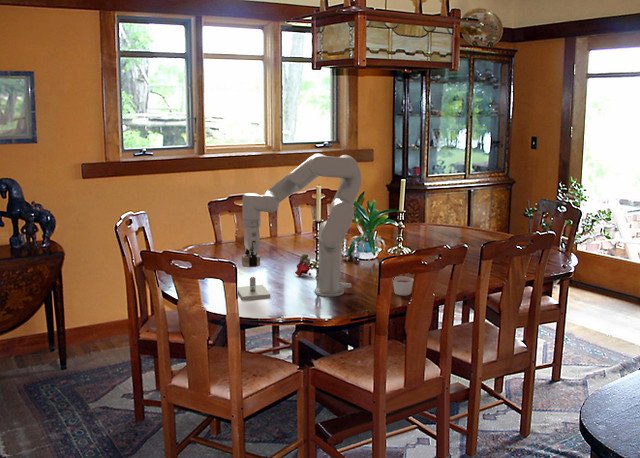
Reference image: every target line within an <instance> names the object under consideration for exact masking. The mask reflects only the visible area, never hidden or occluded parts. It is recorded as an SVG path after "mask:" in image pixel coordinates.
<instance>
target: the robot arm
mask: <svg viewBox="0 0 640 458" xmlns="http://www.w3.org/2000/svg"><path fill="white" fill-rule="evenodd" d="M319 177H324V178H337V179H340V183H339V186H338V189H337V191H336V192H335V194H334V197H333V199H332V200H331V204H330V205H329V215H328V218H327V220H325V221H323V222H322V223H321V224H320V226H319V228H318V232H317V235H318V237H317V238H318V287H316V288H315V289H314V293H315V294H316V295H317V296H320V297H329V298H331V297H332V298H333V297H340V296H342V295H344V293H345V288H347V289H348V288H350V289H351V288H352V283H351V282H349V283H347V282H342V280H341V278H342V276H341V274H342V271H341V270H342V269H341V267H342V265H341V264H342V263H341V262H342V243H343V241H344V239H345V238H346V235H347V234H348V231H349V229H350V226H351V224H352V221H353V220H354V215H355V210H354V204H355V201H356V200H357V197H358V195H359V192H360V189H361V185H362V173H361V170H360V167H359V164H358V162H357V160H356V159H355V158H354V157H352V156H351V155H348V154H342V155H340V156H332V155H331V156H327V155H325V154H322V153H321V152H320V153H319V152H318V153H313V155H311V156H310V157H308V158H307V159H305V161H303V162H302V163H300V165H299V166H297V167H295V168H294V169H293V170H292V171H290V172H289V173H287V175H285V176H284V177H283V178H281V179H280V180H279V181H277V182H276V183H275V184H273V185H272V186H271V187H270V188H269V189H267V190H266V191H265V192H264V193H263V194H261V195H260V194H259V193H255V192H247V193H244V194H242V209H241V210H242V215H241V216H242V225H241V227H243V229H244V231H243V232H244V234H243V235H244V236H243V242H244V243H243V244H244V247H245V250H244V251H245V253H244V255H245V254H250V257H249V266H257V255H258V251H260V250H261V243H260V240H261V239H260V237H261V236H260V227H261V212H263V213H274V212H277V210H278V209H279V206H280V204H281V202H282V201H284V200H285V199H286V198H288V197H289V196H290V195H292V194H294V193H296V192H300V191H302V190H304V189H305V188H307V186H308V185H310V184H311V183H312V182H313V181H315V180H316V179H317V178H319Z"/></svg>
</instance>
